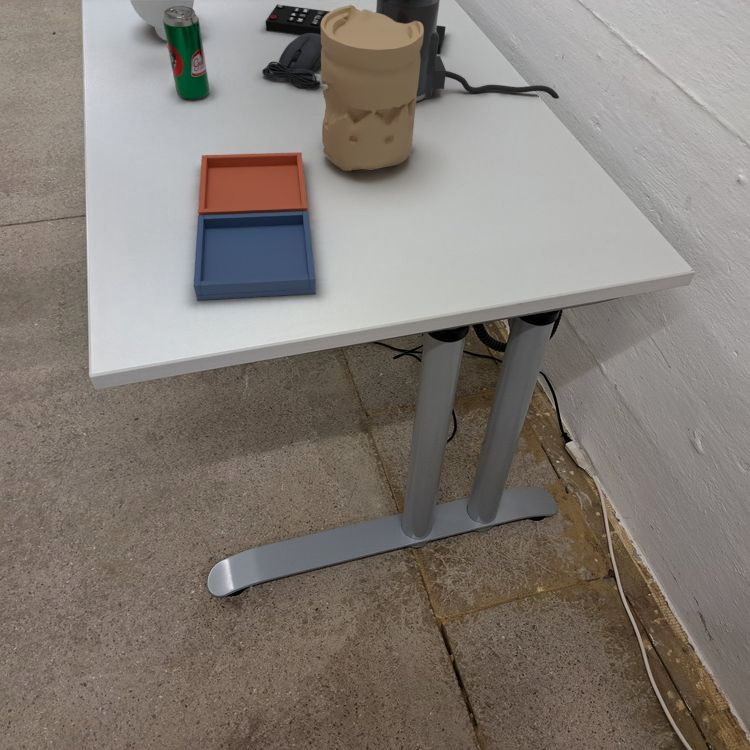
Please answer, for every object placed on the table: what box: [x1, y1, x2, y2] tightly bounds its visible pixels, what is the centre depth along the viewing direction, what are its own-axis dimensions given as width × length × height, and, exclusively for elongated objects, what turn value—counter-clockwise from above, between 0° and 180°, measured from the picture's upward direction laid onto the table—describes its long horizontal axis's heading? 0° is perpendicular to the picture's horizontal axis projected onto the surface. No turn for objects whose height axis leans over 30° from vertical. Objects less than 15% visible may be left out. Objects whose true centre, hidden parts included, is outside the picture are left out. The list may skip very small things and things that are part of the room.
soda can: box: [163, 6, 211, 101], centre depth 95 cm, size 5×5×12 cm
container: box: [320, 4, 424, 172], centre depth 84 cm, size 13×13×18 cm
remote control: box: [265, 4, 447, 55], centre depth 115 cm, size 8×32×2 cm, turn 80°
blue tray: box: [193, 210, 317, 301], centre depth 76 cm, size 13×12×2 cm
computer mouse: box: [261, 33, 322, 90], centre depth 106 cm, size 10×15×4 cm
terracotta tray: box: [197, 152, 309, 216], centre depth 84 cm, size 13×12×2 cm
